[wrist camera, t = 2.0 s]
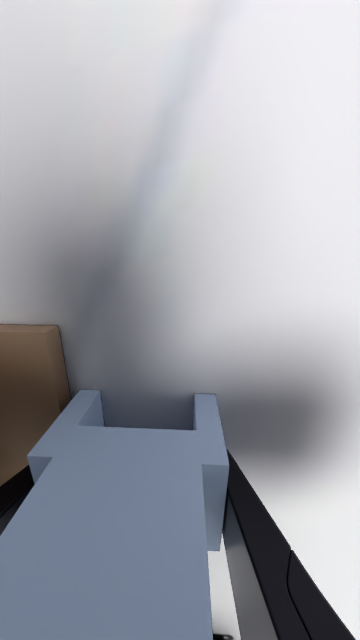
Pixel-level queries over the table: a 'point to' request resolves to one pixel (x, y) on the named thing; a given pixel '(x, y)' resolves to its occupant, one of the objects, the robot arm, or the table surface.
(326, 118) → the table surface
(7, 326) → the rail board
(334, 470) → the table surface
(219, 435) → the notched blue block
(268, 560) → the robot arm
